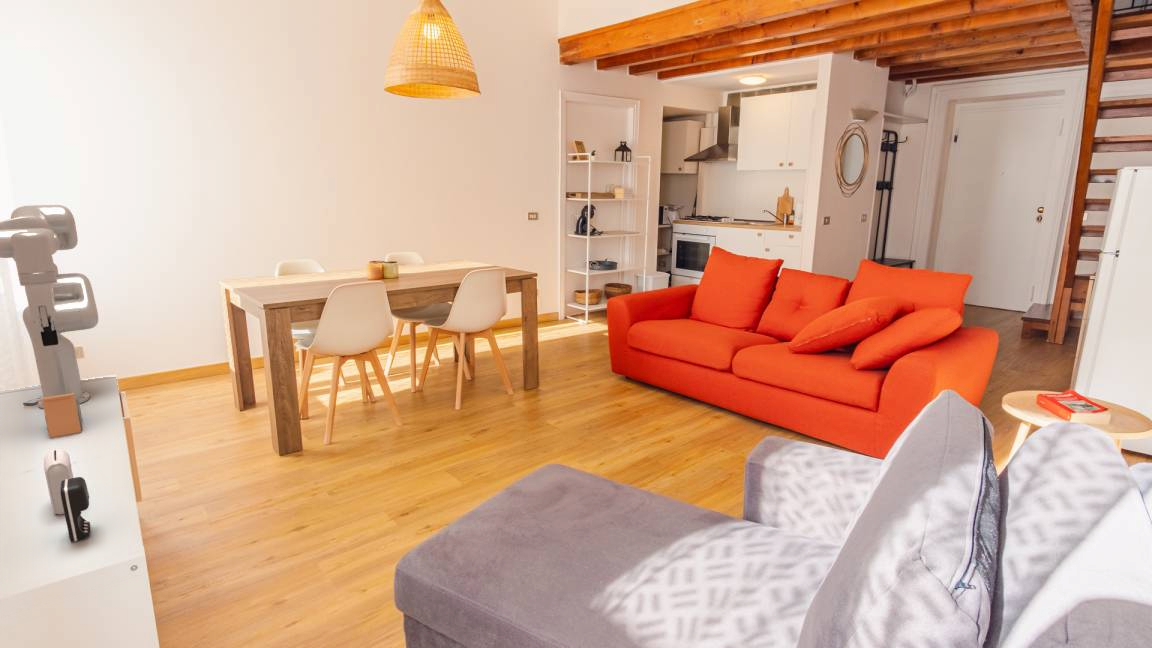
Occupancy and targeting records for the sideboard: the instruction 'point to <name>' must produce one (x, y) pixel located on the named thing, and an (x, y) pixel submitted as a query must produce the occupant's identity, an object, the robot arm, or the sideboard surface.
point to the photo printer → (57, 475)
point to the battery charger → (75, 507)
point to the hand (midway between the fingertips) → (51, 344)
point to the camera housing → (78, 414)
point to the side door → (61, 415)
